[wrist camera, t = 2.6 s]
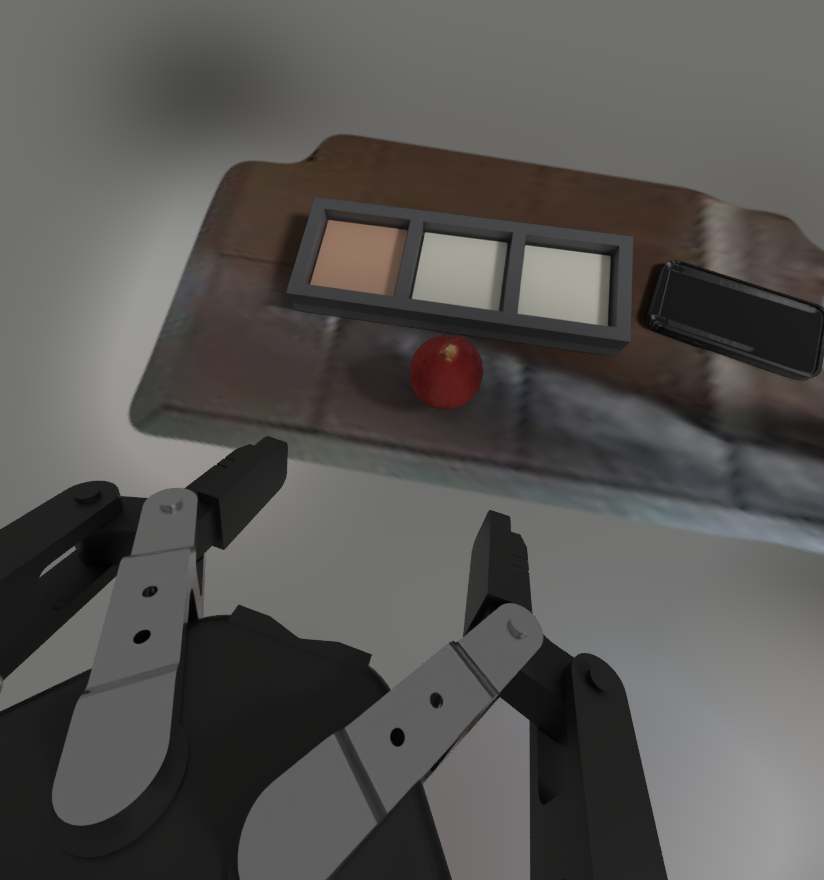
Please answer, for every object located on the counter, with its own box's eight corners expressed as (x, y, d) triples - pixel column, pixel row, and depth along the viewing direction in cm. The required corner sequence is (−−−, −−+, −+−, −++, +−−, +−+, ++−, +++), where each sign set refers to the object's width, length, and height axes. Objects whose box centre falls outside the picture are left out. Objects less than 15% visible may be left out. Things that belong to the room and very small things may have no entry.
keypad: (617, 258, 34) (633, 236, 32) (613, 356, 32) (630, 341, 29) (322, 220, 36) (314, 197, 34) (295, 310, 34) (286, 293, 31)
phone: (667, 256, 33) (831, 308, 32) (659, 265, 35) (817, 315, 33) (647, 323, 32) (820, 382, 30) (640, 330, 33) (805, 387, 31)
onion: (421, 354, 32) (421, 299, 24) (481, 370, 32) (501, 319, 24) (403, 411, 31) (397, 373, 23) (465, 428, 30) (482, 395, 23)
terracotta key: (408, 233, 34) (408, 230, 34) (393, 303, 32) (392, 300, 32) (329, 223, 35) (328, 219, 34) (310, 291, 33) (308, 288, 32)
